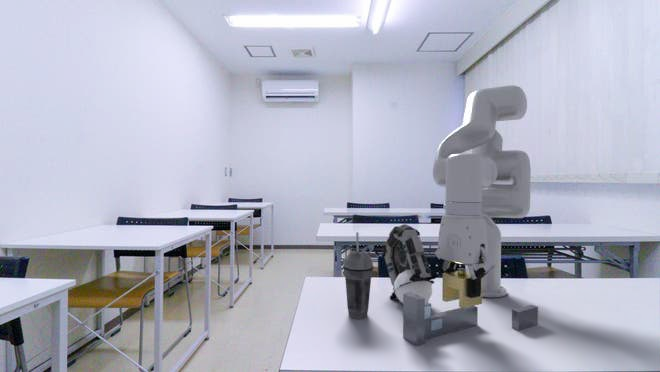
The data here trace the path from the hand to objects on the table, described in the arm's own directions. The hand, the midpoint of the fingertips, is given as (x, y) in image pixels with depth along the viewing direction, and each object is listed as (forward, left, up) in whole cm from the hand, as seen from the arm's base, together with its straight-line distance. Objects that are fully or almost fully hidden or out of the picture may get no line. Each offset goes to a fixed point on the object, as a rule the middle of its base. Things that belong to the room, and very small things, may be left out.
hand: (462, 291), depth 74 cm
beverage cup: (-16, -17, -8) cm, 25 cm away
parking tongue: (+6, +13, -8) cm, 17 cm away
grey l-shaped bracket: (0, -5, -8) cm, 9 cm away
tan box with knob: (0, 0, -2) cm, 2 cm away
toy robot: (-19, 0, -8) cm, 21 cm away
